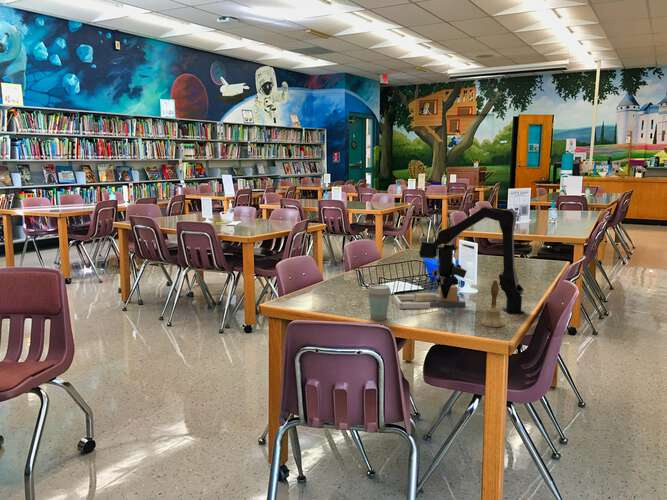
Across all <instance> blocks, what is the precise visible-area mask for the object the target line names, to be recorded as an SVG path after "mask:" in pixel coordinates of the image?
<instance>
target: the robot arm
mask: <svg viewBox="0 0 667 500" xmlns="http://www.w3.org/2000/svg"><path fill="white" fill-rule="evenodd" d="M485 218H488V219H490V220H493V221H498V223H499V227H500V230H501V235H502V256H503V271H502V272H500V274H498V279H499V283H498V286H500V289H501V291H503V292H504V294H505V297H506V303H505V304H506V305H505V307H503V308H502V310H503V311H505V312H506V313H508V314H525V311H524V310H523V309H522V307H523V306H522V305H523V296H522V295H523V294H524V291H525V289H524V288H523V287H522V285H520V282H519V278H518V274H517V271H516V267H515V266H516V265H515V241H514V240H515V239H514V238H515V235H514V231H515V227H516V222H517V212H516V211H515V210H514V209H512V208H506V209H501V208H495V207H494V208H493V207H490V206H487V205H486V206H483V207H481V208H480V209H479V210H477V211H476V212H474V213H472V214H471V215H470V216H467V218H464V219H463V220H461V221H460V222H458V223H457V224H454V225H451V226H450V227H447V228H445V229H442V230H440V231H439V232H438V234H437V237H436V239H435V240H434V242H432V241H431V242H428V241H425V240H424V241H421V246H420V248H419V253H418V254H419V257H420V259H431V260H433V259H436V258H437V257H438V259H437V260H438V261H436V264H437V265H438V266H437V268H434V269H433V270H431V271H432V273H431V275H432V277H434V280H435V282H436V285H437V288H438V289H439V286H440V287H441V291H442V294H443V297H444V298H447V296H448V293H449V290H450V287H451V286H457V285H459V279H458V278H457V277H456V276H458V277H460V278H461V279H464V278H465V276H466V274H467V272H468V271H467V270H466V269H465V268H462V265H460V264H458V263H456V264H455V263H454V262H453V258H454V257H453V256H454V251H456V250H458V249H459V247H458V245H456V243H452V244H449V243H451V242H453V241H454V240H455V239H456V238H457V237H459V236H460V235H461V234H462V233H463V232H464V231H465V230H466V231H467V229H469V228H470V227H472V226H474V225H476V224H477V223H479V222H480V221H482V220H484V219H485ZM441 245H443V246H441Z"/></svg>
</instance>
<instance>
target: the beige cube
mask: <svg viewBox="0 0 667 500" xmlns="http://www.w3.org/2000/svg"><path fill="white" fill-rule="evenodd" d="M424 293H425V294H426V295H427V298H426V303H427V302H436V294H435V292H424Z"/></svg>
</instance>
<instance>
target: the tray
mask: <svg viewBox="0 0 667 500" xmlns="http://www.w3.org/2000/svg"><path fill="white" fill-rule="evenodd" d="M392 300H393V301H394V304H395V305H396V306H397V307H398V309H430V308H431V307H430V303H429V302H427V303H414V302H402V301H415V294H393V295H392Z"/></svg>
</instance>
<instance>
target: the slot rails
mask: <svg viewBox="0 0 667 500" xmlns="http://www.w3.org/2000/svg"><path fill="white" fill-rule="evenodd" d="M429 303H430V308H445V307H446V308H448V307H449V308H451V307H457V308H459V307H466V304H467V303H466V301H464V300H460V296H459V295H457V301H442V302H429Z"/></svg>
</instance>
